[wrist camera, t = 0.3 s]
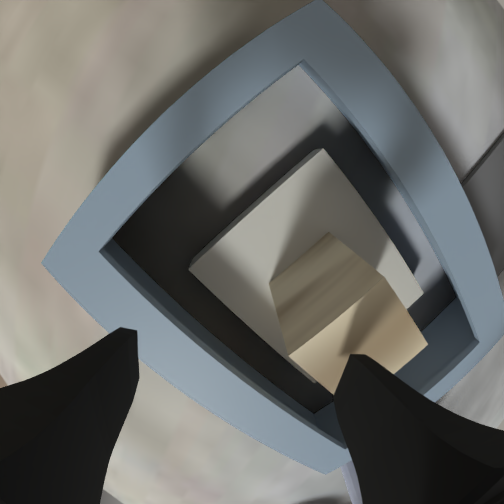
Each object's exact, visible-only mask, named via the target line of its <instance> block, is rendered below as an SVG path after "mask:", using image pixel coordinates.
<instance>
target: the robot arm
mask: <svg viewBox="0 0 504 504" xmlns="http://www.w3.org/2000/svg"><path fill="white" fill-rule="evenodd" d="M138 381H139V362H138V333H137V330H133V329H128V328H123V327H119V328H118V329H116V330H114V331H113V332H111V333H110V334H108V335H107V336H105V337H104V338H102V339H101V340H99V341H98V342H96V343H95V344H93V345H92V346H90V347H89V348H87V349H85V350H84V351H82V352H81V353H79V354H77V355H76V356H74V357H72V358H70V359H69V360H67V361H65V362H63V363H62V364H60V365H58V366H56V367H54V368H52V369H50V370H48V371H46V372H44V373H42V374H39V375H37V376H35V377H32V378H30V379H27V380H25V381H21V382H18V383H15V384H12V385H9V386H6V387H3V388H0V504H100V499H101V495H102V490H103V485H104V480H105V476H106V472H107V468H108V463H109V460H110V457H111V454H112V451H113V448H114V446H115V443H116V441H117V438H118V436H119V434H120V431H121V429H122V426H123V424H124V421H125V419H126V417H127V414H128V412H129V409H130V407H131V405H132V402H133V399H134V395H135V392H136V388H137V384H138ZM333 400H334V405H335V410H336V415H337V420H338V423H339V425H340V428H341V431H342V434H343V437H344V439H345V442H346V445H347V448H348V450H349V453H350V456H351V459H352V460H351V461H349V462H348V463H346V464H344V465H342V466H341V470H342V474H343V477H344V480H345V483H346V486H347V489H348V492H349V495H350V499H351V502H352V504H504V431H503V430H499V429H495V428H492V427H488V426H485V425H482V424H479V423H476V422H474V421H471V420H469V419H466V418H464V417H461V416H459V415H457V414H455V413H453V412H451V411H449V410H447V409H445V408H443V407H442V406H440V405H438V404H436V403H435V402H433V401H431V400H430V399H428V398H427V397H425V396H424V395H422V394H420V393H419V392H417V391H416V390H415V389H413V388H412V387H410V386H409V385H408V384H406V383H405V382H403V381H402V380H401V379H399V378H398V377H397V376H395V375H394V374H393V373H391V372H390V371H389V370H387V369H386V368H385V367H383V366H382V365H381V364H379V363H378V362H376V361H375V360H374V359H372V358H371V357H369V356H367V355H366V354H350V356H349V358H348V361H347V364H346V366H345V369H344V371H343V374H342V376H341V378H340V381H339V383H338V386H337V388H336V390H335V393H334V395H333Z"/></svg>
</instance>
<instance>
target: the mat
mask: <svg viewBox="0 0 504 504" xmlns="http://www.w3.org/2000/svg"><path fill="white" fill-rule="evenodd" d="M461 186H462V188H463V190H464V192H465V194H466V196H467V198H468V201H469V203H470V205H471V207H472V210H473V212H474V214H475V217H476V219H477V222H478V224H479V226H480V229H481V232H482V234H483V237H484V239H485V242H486V245H487V248H488V250H489V253H490V256H491V259H492V262H493V265H494V268H495V272H496V275H497V277H498V276H499V274H500V273H501V272H502V270H503V269H504V133H503V134H502V136H501V137H500V138H499V139H498V141H497V142H496V143H495V144H494V146H493V147H492V148H491V149H490V151H489V152H488V153H487V154H486V156H485V157H484V158H483V159H482V160H481V162H480V163H479V164H478V165H477V166H476V167H475V169H474V170H473V171H472V172H471V173H470V174H469V176H468V177H467V178H466V179H465V180H464V181H463V182H462V183H461Z"/></svg>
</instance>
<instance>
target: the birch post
mask: <svg viewBox="0 0 504 504" xmlns="http://www.w3.org/2000/svg"><path fill="white" fill-rule="evenodd" d="M269 287H270V290H271V294H272V298H273V301H274V305H275V309H276V312H277V316H278V320H279V323H280V327H281V331H282V334H283V338H284V342H285V345H286V349H287V353H288V356H289V357H290V358H291V359H292V360H293V361H295V362H296V363H297V364H298V365H299V366H300V367H301V368H303V369H304V370H305V371H306V372H307V373H308V374H310V375H311V376H312V377H313V378H314V379H315V380H317V381H318V382H319V383H320V384H321V385H323V386H324V387H325V388H326V389H327V390H328V391H330V392H331V393H332V394H333V395H334V393H335V390H336V388H337V386H338V383H339V381H340V378H341V376H342V374H343V371H344V369H345V366H346V364H347V361H348V358H349V356H350V354H366V355H367V356H369V357H371V358H372V359H374V360H375V361H376V362H378V363H379V364H381V365H382V366H383V367H385V368H386V369H387V370H389V371H390V372H391V373H393V374H394V373H396V372H397V371H398V370H399V369H400V368H402V367H403V366H404V365H405V364H406V363H408V362H409V361H410V360H411V359H412V358H413V357H415V356H416V355H417V354H418V353H419V352H420V351H421V350H423V349H424V348H425V347H426V346H427V345H428V343H427V342H426V340H425V338H424V337H423V335H422V334H421V332H420V330H419V329H418V327H417V326H416V324H415V322H414V321H413V319H412V318H411V316H410V314H409V313H408V311H407V310H406V308H405V307H404V305H403V304H402V302H401V301H400V299H399V298H398V296H397V295H396V293H395V292H394V290H393V289H392V287H391V286H390V284H389V283H388V281H387V280H386V279H385V277H384V276H383V275H381V274H380V273H379V272H378V271H377V270H375V269H374V268H373V267H372V266H371V265H369V264H368V263H367V262H366V261H365V260H363V259H362V258H361V257H360V256H358V255H357V254H356V253H355V252H353V251H352V250H351V249H350V248H349V247H347V246H346V245H345V244H343V243H342V242H341V241H340V240H338V239H337V238H336V237H335V236H333V235H332V234H331V233H330V232H328V233H327V234H325V235H324V236H323V237H322V238H321V239H320V240H319V241H317V242H316V243H315V244H314V245H313V246H312V247H311V248H309V249H308V250H307V251H306V252H305V253H304V254H303V255H301V256H300V257H299V258H298V259H297V260H296V261H294V262H293V263H292V264H291V265H290V266H289V267H288V268H286V269H285V270H284V271H283V272H282V273H281V274H279V275H278V276H277V277H276V278H275V279H273V280H272V281H271V282H270V283H269Z"/></svg>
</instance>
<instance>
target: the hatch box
mask: <svg viewBox="0 0 504 504" xmlns="http://www.w3.org/2000/svg"><path fill="white" fill-rule="evenodd" d="M297 65H299V66H300V67H301V68H302V69H303V70H304V71H305V72H306V73H307V74H308V75H309V76H310V77H311V78H312V79H313V81H314V82H315V83H316V84H317V85H318V86H319V87H320V88H321V89H322V90H323V92H324V93H325V94H326V95H327V96H328V97H329V98H330V100H331V101H332V102H333V103H334V104H335V105H336V107H337V108H338V109H339V110H340V111H341V113H342V114H343V115H344V116H345V118H346V119H347V120H348V121H349V122H350V124H351V125H352V126H353V128H354V129H355V130H356V131H357V133H358V134H359V135H360V137H361V138H362V139H363V140H364V142H365V143H366V144H367V146H368V147H369V148H370V150H371V151H372V153H373V154H374V155H375V157H376V158H377V160H378V161H379V162H380V164H381V165H382V167H383V168H384V169H385V171H386V172H387V174H388V175H389V177H390V178H391V180H392V181H393V183H394V184H395V186H396V187H397V189H398V190H399V192H400V194H401V195H402V197H403V198H404V200H405V201H406V203H407V205H408V206H409V208H410V210H411V211H412V213H413V215H414V216H415V218H416V220H417V221H418V223H419V225H420V226H421V228H422V230H423V232H424V233H425V235H426V237H427V239H428V241H429V243H430V244H431V246H432V248H433V250H434V252H435V254H436V256H437V258H438V260H439V261H440V263H441V265H442V267H443V269H444V271H445V273H446V276H447V278H448V280H449V282H450V284H451V286H452V288H453V290H454V293H455V295H456V298H455V299H454V300H453V301H452V302H451V303H450V304H449V305H448V306H447V307H446V308H445V309H444V310H443V311H442V312H441V313H440V314H439V315H438V316H437V317H436V318H435V319H434V320H433V321H432V322H431V323H430V324H429V325H428V326H427V327H426V328H425V329H424V330H423V331H421V334H422V335H423V337H424V338H425V340H426V342H427V343H428V345H427V346H426V347H425V348H424V349H423V350H421V351H420V352H419V353H418V354H417V355H416V356H415V357H413V358H412V359H411V360H410V361H409V362H408V363H406V364H405V365H404V366H403V367H402V368H400V369H399V370H398V371H397V372H396V373H394V375H395V376H397V377H398V378H399V379H401V380H402V381H403V382H405V383H406V384H408V385H409V386H410V387H412V388H413V389H415V390H416V391H417V392H419V393H420V394H422V395H424V396H425V397H427V398H428V399H430V400H431V401H433V402H436V401H437V400H438V399H440V398H441V397H442V396H443V395H444V394H445V393H447V392H448V391H449V390H450V389H451V388H452V387H453V386H454V385H456V384H457V383H458V382H459V381H460V380H461V379H462V378H463V377H464V376H465V375H466V374H467V373H468V372H469V371H470V370H471V369H472V368H473V367H474V366H475V365H476V364H477V363H478V362H479V361H480V360H481V359H482V358H483V357H484V356H485V355H486V354H487V353H488V352H489V351H490V350H491V349H492V348H493V346H494V345H495V344H496V343H497V342H498V341H499V340H500V339H501V337H502V336H503V335H504V300H503V296H502V292H501V289H500V285H499V282H498V278H497V275H496V272H495V268H494V265H493V262H492V259H491V256H490V253H489V250H488V248H487V245H486V242H485V239H484V237H483V234H482V232H481V229H480V226H479V224H478V222H477V219H476V217H475V214H474V212H473V210H472V207H471V205H470V203H469V201H468V198H467V196H466V194H465V192H464V190H463V188H462V186H461V184H460V182H459V180H458V178H457V176H456V174H455V172H454V170H453V168H452V166H451V164H450V162H449V161H448V159H447V157H446V155H445V153H444V152H443V150H442V148H441V146H440V145H439V143H438V141H437V140H436V138H435V136H434V135H433V133H432V131H431V130H430V128H429V126H428V125H427V123H426V122H425V120H424V119H423V117H422V116H421V114H420V113H419V111H418V110H417V108H416V107H415V105H414V104H413V102H412V101H411V99H410V98H409V97H408V95H407V94H406V92H405V91H404V90H403V88H402V87H401V86H400V84H399V83H398V82H397V80H396V79H395V78H394V77H393V75H392V74H391V73H390V71H389V70H388V69H387V68H386V66H385V65H384V64H383V63H382V62H381V60H380V59H379V58H378V57H377V56H376V54H375V53H374V52H373V51H372V50H371V49H370V48H369V46H368V45H367V44H366V43H365V42H364V41H363V40H362V39H361V38H360V36H359V35H358V34H357V33H356V32H355V31H354V30H353V29H352V28H351V27H350V26H349V25H348V24H347V23H346V22H345V21H344V20H343V19H342V18H341V17H340V16H339V15H338V14H337V13H336V12H335V11H334V10H333V9H332V8H331V7H330V6H328V5H327V4H326V3H325V2H324V1H323V0H314V1H313V2H311V3H309V4H307V5H306V6H304V7H302V8H300V9H299V10H297V11H295V12H294V13H292V14H290V15H289V16H287V17H286V18H284V19H282V20H281V21H279V22H278V23H276V24H275V25H273V26H271V27H270V28H268V29H267V30H265V31H264V32H262V33H261V34H260V35H258V36H257V37H255V38H254V39H252V40H251V41H250V42H248V43H247V44H245V45H244V46H243V47H241V48H240V49H239V50H237V51H236V52H235V53H233V54H232V55H231V56H229V57H228V58H227V59H225V60H224V61H223V62H221V63H220V64H219V65H218V66H216V67H215V68H214V69H213V70H211V71H210V72H209V73H208V74H207V75H205V76H204V77H203V78H202V79H201V80H199V81H198V82H197V83H196V84H195V85H194V86H192V87H191V88H190V89H189V90H188V91H187V92H186V93H185V94H183V95H182V96H181V97H180V98H179V99H178V100H177V101H176V102H175V103H174V104H172V105H171V106H170V107H169V108H168V109H167V110H166V111H165V112H164V113H163V114H162V115H161V116H160V117H159V118H158V119H157V120H156V121H155V122H154V123H153V124H152V125H151V126H150V127H149V128H148V129H147V130H146V131H145V132H144V133H143V134H142V135H141V136H140V137H139V138H138V139H137V140H136V141H135V142H134V143H133V144H132V145H131V147H130V148H129V149H128V150H127V151H126V152H125V153H124V154H123V155H122V156H121V158H120V159H119V160H118V161H117V162H116V163H115V164H114V165H113V167H112V168H111V169H110V170H109V171H108V172H107V174H106V175H105V176H104V177H103V178H102V180H101V181H100V182H99V183H98V184H97V186H96V187H95V188H94V189H93V191H92V192H91V193H90V194H89V196H88V197H87V198H86V200H85V201H84V202H83V203H82V205H81V206H80V207H79V209H78V210H77V211H76V213H75V214H74V215H73V217H72V218H71V219H70V221H69V222H68V224H67V225H66V226H65V228H64V229H63V231H62V232H61V234H60V235H59V236H58V238H57V239H56V241H55V242H54V244H53V245H52V247H51V248H50V250H49V251H48V253H47V255H46V256H45V258H44V259H43V261H42V262H41V263H42V265H43V266H44V267H45V268H46V269H47V270H48V271H49V273H50V274H51V275H52V276H53V277H54V278H55V279H56V280H57V281H58V283H59V284H60V285H61V286H62V287H63V288H64V289H65V290H66V291H67V292H68V293H69V294H70V295H71V296H72V297H73V298H74V299H75V300H76V302H77V303H78V304H79V305H80V306H81V307H82V308H83V309H84V310H85V311H86V312H88V313H89V314H90V315H91V316H92V317H93V318H94V319H95V320H96V321H97V322H98V323H99V324H100V325H101V326H102V327H103V328H104V329H105V330H106V331H108V332H109V333H111V332H113V331H114V330H116V329H118V328H119V327H123V328H128V329H133V330H137V333H138V358H139V359H140V360H141V361H142V362H143V363H145V364H146V365H147V366H148V367H150V368H151V369H152V370H153V371H155V372H156V373H157V374H159V375H160V376H161V377H162V378H164V379H165V380H166V381H168V382H169V383H170V384H172V385H173V386H174V387H176V388H177V389H178V390H180V391H181V392H183V393H184V394H185V395H187V396H188V397H190V398H191V399H192V400H194V401H195V402H197V403H198V404H200V405H201V406H203V407H204V408H206V409H207V410H209V411H210V412H212V413H213V414H215V415H216V416H218V417H219V418H221V419H222V420H224V421H226V422H227V423H229V424H230V425H232V426H234V427H235V428H237V429H238V430H240V431H242V432H243V433H245V434H247V435H249V436H250V437H252V438H254V439H256V440H257V441H259V442H261V443H263V444H264V445H266V446H268V447H270V448H272V449H274V450H275V451H277V452H279V453H281V454H283V455H285V456H287V457H289V458H291V459H293V460H295V461H297V462H299V463H301V464H303V465H305V466H307V467H310V468H312V469H314V470H316V471H318V472H320V473H323V474H327V473H329V472H331V471H333V470H335V469H337V468H339V467H341V466H342V465H344V464H346V463H348V462H349V461H351V460H352V459H351V456H350V453H349V450H348V448H347V445H346V442H345V439H344V437H343V434H342V431H341V428H340V425H339V423H338V420H337V415H336V410H335V405H334V401H333V402H331V403H330V404H328V405H327V406H325V407H324V408H322V409H321V410H319V411H318V412H316V413H315V414H313V413H312V412H310V411H309V410H308V409H306V408H305V407H303V406H302V405H301V404H299V403H298V402H297V401H295V400H294V399H293V398H291V397H290V396H289V395H287V394H286V393H285V392H283V391H282V390H281V389H279V388H278V387H277V386H275V385H274V384H273V383H271V382H270V381H269V380H268V379H266V378H265V377H264V376H262V375H261V374H260V373H259V372H257V371H256V370H255V369H254V368H252V367H251V366H250V365H249V364H247V363H246V362H245V361H244V360H243V359H241V358H240V357H239V356H238V355H236V354H235V353H234V352H233V351H232V350H230V349H229V348H228V347H227V346H226V345H224V344H223V343H222V342H221V341H220V340H219V339H217V338H216V337H215V336H214V335H213V334H212V333H211V332H209V331H208V330H207V329H206V328H205V327H204V326H203V325H201V324H200V323H199V322H198V321H197V320H196V319H195V318H194V317H192V316H191V315H190V314H189V313H188V312H187V311H186V310H185V309H184V308H182V307H181V306H180V305H179V304H178V303H177V302H176V301H175V300H174V299H173V298H172V297H171V296H170V295H168V294H167V293H166V292H165V291H164V290H163V289H162V288H161V287H160V286H159V285H158V284H157V283H156V282H155V281H154V280H153V279H152V278H151V277H150V276H149V275H148V274H147V273H146V272H145V271H144V270H143V269H142V268H141V267H140V266H139V265H138V264H137V263H136V262H135V261H134V260H133V259H132V258H131V257H130V256H129V255H128V254H127V253H126V252H125V251H124V250H123V249H122V248H121V247H120V246H119V245H118V244H117V243H116V242H115V241H114V240H113V239H112V237H113V236H114V235H115V234H116V233H117V231H118V230H119V229H120V228H121V227H122V226H123V225H124V223H125V222H126V221H127V220H128V219H129V218H130V217H131V216H132V214H133V213H134V212H135V211H136V210H137V209H138V208H139V207H140V206H141V205H142V204H143V202H144V201H145V200H146V199H147V198H148V197H149V196H150V195H151V194H152V193H153V192H154V191H155V190H156V189H157V188H158V187H159V186H160V185H161V184H162V183H163V182H164V181H165V180H166V179H167V177H168V176H169V175H170V174H171V173H172V172H173V171H174V170H176V169H177V168H178V167H179V166H180V165H181V164H182V163H183V162H184V161H185V160H186V159H187V158H188V157H189V156H190V155H191V154H192V153H193V152H194V151H195V150H196V149H197V148H198V147H199V146H201V145H202V144H203V143H204V142H205V141H206V140H207V139H208V138H209V137H210V136H211V135H213V134H214V133H215V132H216V131H217V130H218V129H219V128H220V127H222V126H223V125H224V124H225V123H226V122H227V121H228V120H230V119H231V118H232V117H233V116H234V115H235V114H237V113H238V112H239V111H240V110H241V109H242V108H244V107H245V106H246V105H247V104H248V103H250V102H251V101H252V100H253V99H255V98H256V97H257V96H258V95H259V94H261V93H262V92H263V91H264V90H266V89H267V88H268V87H270V86H271V85H272V84H273V83H275V82H276V81H277V80H279V79H280V78H281V77H283V76H284V75H285V74H287V73H288V72H289V71H291V70H292V69H293V68H295V67H296V66H297ZM328 232H330V233H331V234H332V235H333V236H335V237H336V238H337V239H338V240H340V241H341V242H342V243H343V244H345V245H346V246H347V247H349V248H350V249H351V250H352V251H353V252H355V253H356V254H357V255H358V256H360V257H361V258H362V259H363V260H365V261H366V262H367V263H368V264H369V265H371V266H372V267H373V268H374V269H375V270H377V271H378V272H379V273H380V274H381V275H383V276H384V277H385V279H386V280H387V281H388V283H389V284H390V286H391V287H392V289H393V290H394V292H395V293H396V295H397V296H398V298H399V299H400V301H401V302H402V304H403V305H404V307H405V308H406V310H407V309H408V308H409V307H410V306H411V305H412V304H413V303H414V302H415V301H416V300H417V299H418V298H419V297H420V296H421V295H422V294H423V291H422V289H421V288H420V286H419V284H418V282H417V281H416V279H415V277H414V276H413V274H412V272H411V271H410V269H409V268H408V266H407V264H406V263H405V261H404V259H403V258H402V256H401V255H400V253H399V252H398V250H397V248H396V247H395V245H394V244H393V242H392V241H391V239H390V238H389V236H388V235H387V233H386V232H385V230H384V229H383V227H382V226H381V224H380V223H379V221H378V220H377V219H376V217H375V216H374V214H373V213H372V211H371V210H370V209H369V207H368V206H367V204H366V203H365V202H364V200H363V199H362V198H361V196H360V195H359V193H358V192H357V191H356V189H355V188H354V187H353V185H352V184H351V183H350V181H349V180H348V179H347V178H346V176H345V175H344V174H343V172H342V171H341V170H340V169H339V167H338V166H337V165H336V163H335V162H334V161H333V160H332V158H331V157H330V156H329V155H328V154H327V152H326V151H325V150H324V149H323V148H322V149H315V150H313V151H312V152H311V153H309V154H308V155H307V156H306V157H305V158H304V159H302V160H301V161H300V162H299V163H298V164H297V165H295V166H294V167H293V168H292V169H291V170H290V171H289V172H287V173H286V174H285V175H284V176H283V177H282V178H281V179H279V180H278V181H277V182H276V183H275V184H274V185H273V186H271V187H270V188H269V189H268V190H267V191H266V192H265V193H264V194H262V195H261V196H260V197H259V198H258V199H257V200H256V201H255V202H254V203H252V204H251V205H250V206H249V207H248V208H247V209H246V210H245V211H244V212H242V213H241V214H240V215H239V216H238V217H237V218H236V219H235V220H234V221H232V222H231V223H230V224H229V225H228V226H227V227H226V228H225V229H224V230H223V231H222V232H220V233H219V234H218V235H217V236H216V237H215V238H214V239H213V240H212V241H211V242H210V243H209V244H207V245H206V246H205V247H204V248H203V249H202V250H201V251H200V252H199V253H198V254H197V255H196V256H195V257H194V258H193V259H192V261H191V264H190V266H189V268H188V270H189V271H190V272H191V273H192V274H193V275H194V276H195V277H196V278H197V279H199V280H200V281H201V282H202V283H203V284H204V285H205V286H206V287H207V288H208V289H209V290H210V291H211V292H212V293H213V294H214V295H215V296H216V297H217V298H218V299H219V300H221V301H222V302H223V303H224V304H225V305H226V306H227V307H228V308H229V309H230V310H231V311H232V312H233V313H234V314H236V315H237V316H238V317H239V318H240V319H241V320H242V321H243V322H244V323H245V324H246V325H248V326H249V327H250V328H251V329H252V330H253V331H254V332H255V333H256V334H258V335H259V336H260V337H261V338H262V339H263V340H264V341H265V342H267V343H268V344H269V345H270V346H271V347H272V348H273V349H274V350H276V351H277V352H278V353H279V354H280V355H281V356H282V357H284V358H285V359H286V360H287V361H288V362H289V363H291V364H292V365H293V366H294V367H295V368H296V369H298V370H299V371H300V372H301V373H302V374H303V375H305V376H306V377H307V378H308V379H309V380H311V381H312V382H313V383H316V382H317V380H315V379H314V378H313V377H312V376H311V375H310V374H308V373H307V372H306V371H305V370H304V369H303V368H301V367H300V366H299V365H298V364H297V363H296V362H295V361H293V360H292V359H291V358H290V357H289V356H288V353H287V349H286V345H285V342H284V338H283V334H282V331H281V327H280V323H279V320H278V316H277V312H276V309H275V305H274V301H273V298H272V294H271V290H270V287H269V283H270V282H271V281H272V280H273V279H275V278H276V277H277V276H278V275H279V274H281V273H282V272H283V271H284V270H285V269H286V268H288V267H289V266H290V265H291V264H292V263H293V262H294V261H296V260H297V259H298V258H299V257H300V256H301V255H303V254H304V253H305V252H306V251H307V250H308V249H309V248H311V247H312V246H313V245H314V244H315V243H316V242H317V241H319V240H320V239H321V238H322V237H323V236H324V235H325V234H327V233H328Z"/></svg>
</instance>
